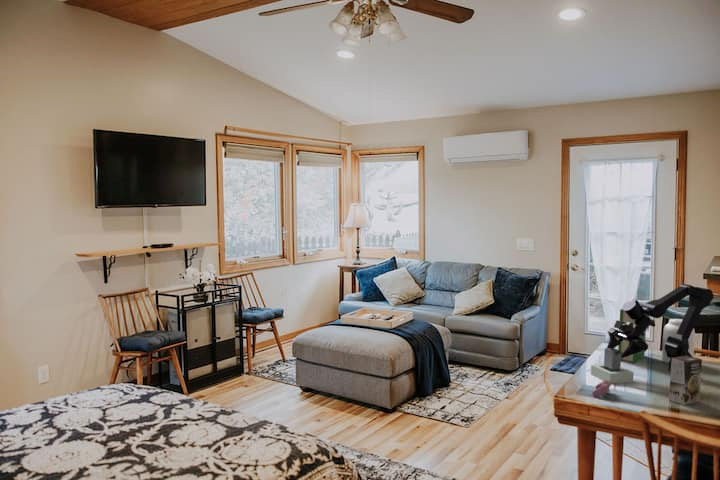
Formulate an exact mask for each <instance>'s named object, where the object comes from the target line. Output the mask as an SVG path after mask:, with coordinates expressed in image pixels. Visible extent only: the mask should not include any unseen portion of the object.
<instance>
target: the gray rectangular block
mask: <svg viewBox="0 0 720 480" xmlns="http://www.w3.org/2000/svg"><path fill="white" fill-rule="evenodd" d="M622 354H623V352H621V351H619V350H618V348H617V349H616V348H607V347H606V348H604V354H603V355H604V358H603V359H604V360H603V364H604V369H606V370H608V371H610V372H618V371H620V367H622V366H621V365H622V363H621V362H622V360H621V359H623V358H622V357H621V355H622Z"/></svg>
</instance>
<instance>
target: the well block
mask: <svg viewBox="0 0 720 480" xmlns="http://www.w3.org/2000/svg"><path fill="white" fill-rule="evenodd" d="M590 366H591V367H590V368H591V369H590V375H591V376H594V377H596V378H598V379H599V380H602V381H603V380H606V379H607V380H610V381H611V382H612V383H611V384H620V383H633V382H634V373H635V372H634V371H632V370H629V369H627V368H625V367H623V366H620V371H618V372H610V371H608V370H606V369H604V363H603V364H602V363H601V364H591V365H590Z"/></svg>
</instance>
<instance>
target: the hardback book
mask: <svg viewBox="0 0 720 480" xmlns="http://www.w3.org/2000/svg"><path fill="white" fill-rule="evenodd" d="M619 321H621V322H624V323H627V322H630V323H632V322H633V321H634V320H632V319H630V317H629V316H628V315H627V314H626V313H625V312H624V310H623V309H622V308H620V310H619ZM646 330H647V329H646ZM646 330H645V331H644V332H643V333H644V334H645V335H644V336H640V338H642V339H643V340H644V341H645V342H646V333H647V331H646ZM618 331H619V332H620V329H618ZM620 333H621V332H620ZM621 334H623V333H621ZM620 343H621V344H619V345H618V346H617V350H619V351H621V352H624V351H625V350H626V348H627V347H628V346H629V342H628V341H625V340H623V341H622V342H620ZM645 353H646V351H642V352H638V353H635V354H632V355H630V356H627V357H625V358H623V359H621V361H622V360H623V361H627V362H632V364H637V363H638V362H639V361H640V360H642V358H644V357H645V355H646V354H645Z"/></svg>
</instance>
